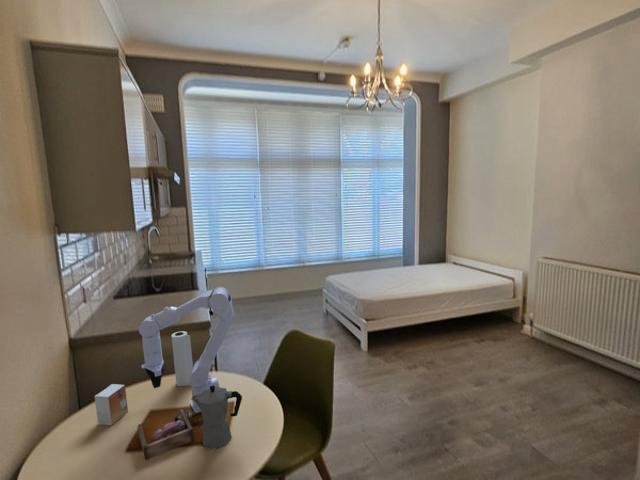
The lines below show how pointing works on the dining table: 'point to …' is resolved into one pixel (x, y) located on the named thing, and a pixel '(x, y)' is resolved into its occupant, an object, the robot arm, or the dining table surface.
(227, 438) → the coffeepot
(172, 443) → the box
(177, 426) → the video game controller
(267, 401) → the dining table surface
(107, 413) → the small box
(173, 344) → the paper towel roll
